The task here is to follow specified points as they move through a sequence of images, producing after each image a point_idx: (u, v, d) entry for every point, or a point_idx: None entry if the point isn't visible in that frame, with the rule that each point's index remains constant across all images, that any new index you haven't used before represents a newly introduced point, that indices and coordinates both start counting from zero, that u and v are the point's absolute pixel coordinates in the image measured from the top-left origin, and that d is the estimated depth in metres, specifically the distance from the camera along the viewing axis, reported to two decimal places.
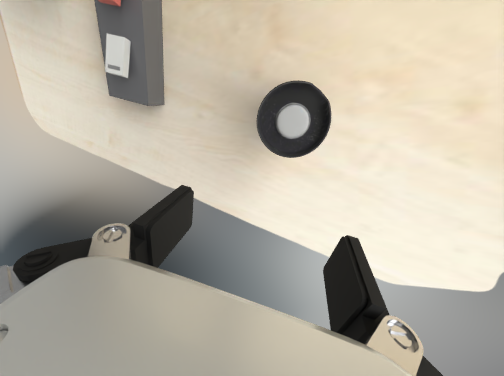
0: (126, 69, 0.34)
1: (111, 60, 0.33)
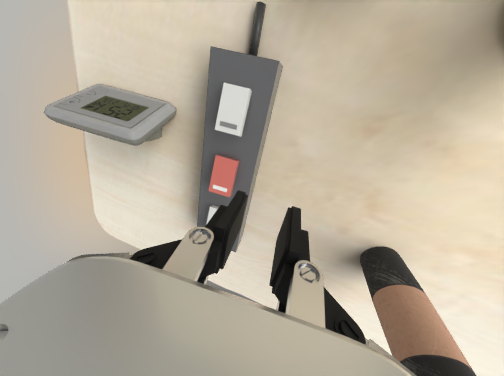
0: None
1: None
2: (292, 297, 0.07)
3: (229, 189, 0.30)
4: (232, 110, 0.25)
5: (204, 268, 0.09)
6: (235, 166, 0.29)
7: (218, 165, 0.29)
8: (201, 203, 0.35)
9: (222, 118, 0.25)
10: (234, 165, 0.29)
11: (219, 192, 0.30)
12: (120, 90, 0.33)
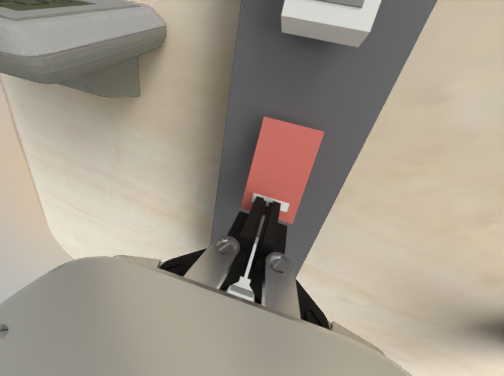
0: None
1: (239, 280, 0.17)
2: (266, 292, 0.07)
3: (294, 205, 0.12)
4: None
5: (226, 279, 0.08)
6: (316, 146, 0.11)
7: (270, 144, 0.11)
8: (217, 227, 0.18)
9: None
10: (314, 143, 0.11)
11: None
12: None
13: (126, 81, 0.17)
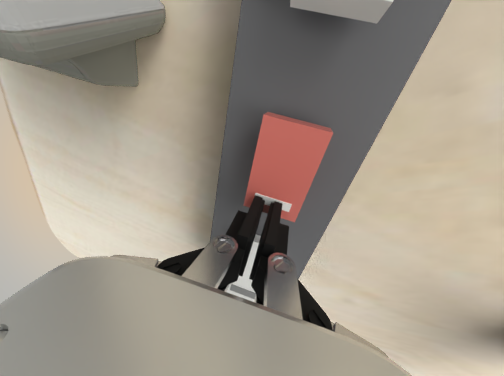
0: None
1: (240, 279, 0.16)
2: (268, 292, 0.07)
3: (297, 206, 0.12)
4: None
5: (225, 278, 0.08)
6: (323, 148, 0.10)
7: (271, 145, 0.10)
8: (217, 225, 0.17)
9: None
10: (321, 145, 0.10)
11: None
12: None
13: (123, 69, 0.16)
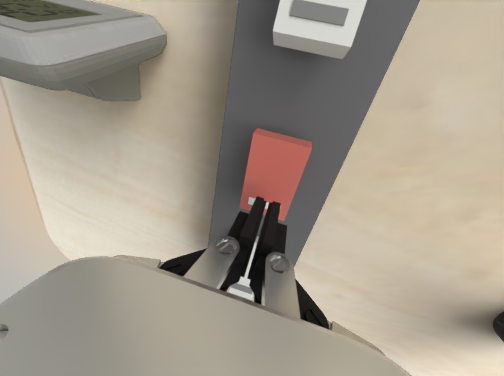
0: None
1: None
2: (266, 292, 0.07)
3: (285, 207, 0.13)
4: None
5: (226, 279, 0.08)
6: (304, 160, 0.11)
7: (260, 158, 0.12)
8: (215, 226, 0.18)
9: None
10: (302, 158, 0.11)
11: None
12: None
13: (127, 86, 0.18)
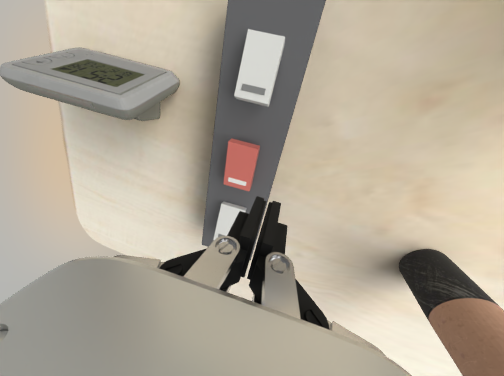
0: None
1: (223, 230, 0.28)
2: (266, 292, 0.07)
3: (249, 182, 0.24)
4: (259, 68, 0.18)
5: (226, 279, 0.08)
6: (255, 155, 0.22)
7: (233, 154, 0.22)
8: (209, 200, 0.28)
9: (245, 80, 0.18)
10: (254, 154, 0.22)
11: (237, 186, 0.24)
12: (108, 55, 0.26)
13: (153, 110, 0.28)
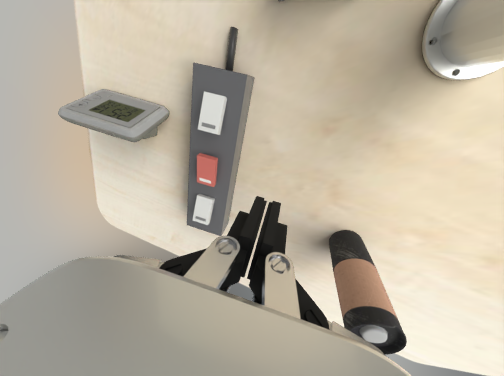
0: (210, 218, 0.41)
1: (199, 213, 0.40)
2: (266, 292, 0.07)
3: (212, 181, 0.36)
4: (211, 113, 0.30)
5: (226, 279, 0.08)
6: (214, 164, 0.34)
7: (200, 163, 0.35)
8: (190, 192, 0.41)
9: (203, 120, 0.31)
10: (213, 163, 0.34)
11: (205, 183, 0.37)
12: (121, 95, 0.38)
13: (152, 130, 0.40)
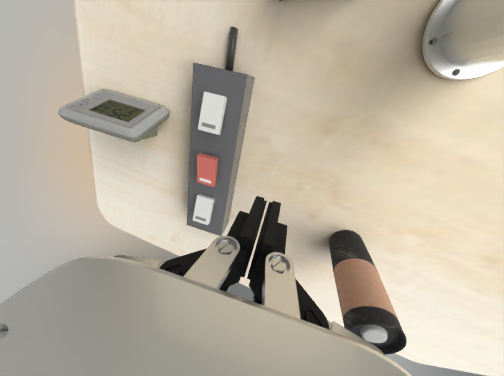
0: (210, 218, 0.41)
1: (199, 213, 0.40)
2: (266, 292, 0.07)
3: (212, 181, 0.36)
4: (211, 113, 0.30)
5: (226, 279, 0.08)
6: (214, 164, 0.34)
7: (200, 163, 0.35)
8: (190, 192, 0.41)
9: (203, 120, 0.31)
10: (213, 163, 0.34)
11: (205, 183, 0.37)
12: (122, 95, 0.38)
13: (152, 130, 0.40)
